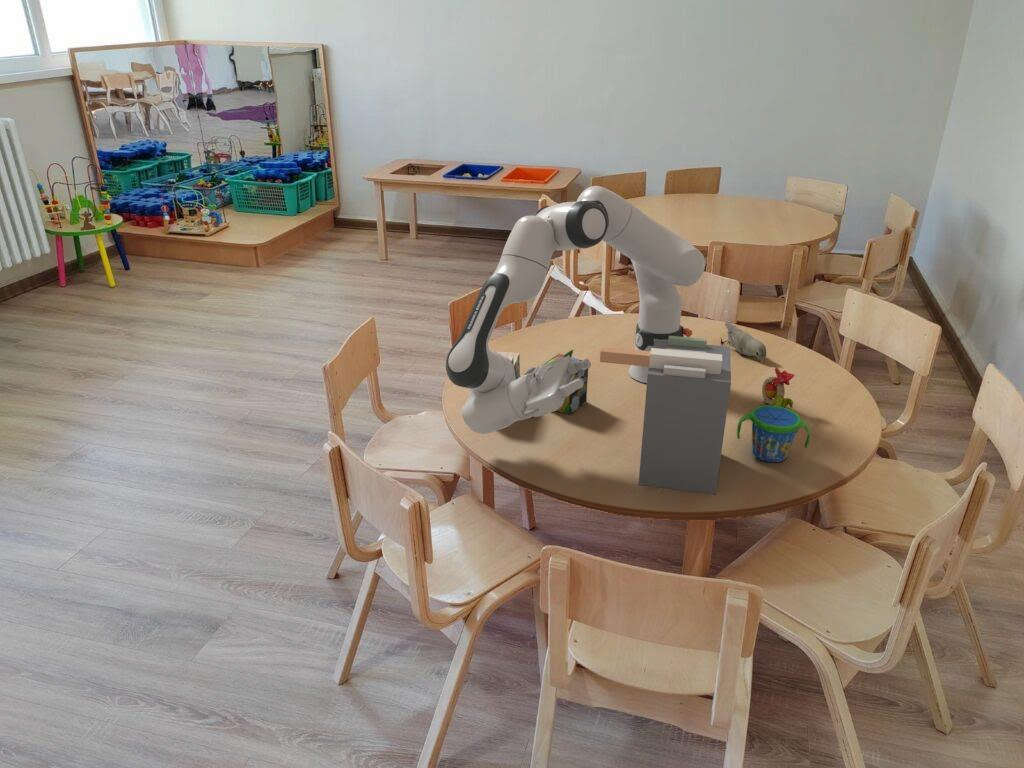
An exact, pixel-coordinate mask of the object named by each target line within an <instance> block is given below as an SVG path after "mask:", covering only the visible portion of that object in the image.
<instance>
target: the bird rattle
mask: <svg viewBox="0 0 1024 768" xmlns="http://www.w3.org/2000/svg"><path fill="white" fill-rule="evenodd" d="M774 371H775V374H776V376H769V377H767V378H766V379H765V380H764V382H763V384H762V388H761V392H762V393H761V394H762V396H763V403H764V404H768V405H773V406H780V407H785V408H787V406H789V409H793V408H794V405H793V404H794V400H792V399H791V398H789V397H785V385H786V386H790V380H792V379H793V378H795V374H793V373H790V372H788V371H787V370H782V371H780V369H779V368H778V367H777V366H776V367H775V368H774Z"/></svg>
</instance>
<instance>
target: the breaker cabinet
mask: <svg viewBox="0 0 1024 768" xmlns="http://www.w3.org/2000/svg"><path fill="white" fill-rule="evenodd" d="M707 342H708V339H707V338H700V337H699V338H698V337H691V336H690V337H687V336H684V337H678V336H669V340H668V341H661V340H655V341H654V346H653V348H658V349H669V350H680V351H690V352H701V353H712V354H722V367H721V374H720V375H719V374H708V373H705V372H706V369H703V368H693V367H682V366H672V365H664V369H657V368H649V370H648V377H647V383H646V388H645V390H646V391H645V401H644V402H645V403H644V411H643V413H644V414H643V427H642V439H641V450H640V460H639V461H640V462H639V473H638V485H641V486H646V487H647V486H648V487H655V488H663V489H670V490H678V491H687V492H691V493H692V492H694V493H702V494H709V495H715V496H716V494H717V487H718V480H719V474H720V473H719V471H720V465H721V464H720V463H721V458H722V451H723V450H722V449H723V443H724V437H725V430H726V429H725V428H726V422H727V414H728V407H729V399H730V394H731V393H730V392H731V386H732V373H731V372H732V370H731V369H732V368H731V367H732V365H731V347H730V346H726V345H723V346H722V345H714V344H708V343H707Z"/></svg>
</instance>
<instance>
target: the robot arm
mask: <svg viewBox="0 0 1024 768" xmlns="http://www.w3.org/2000/svg"><path fill="white" fill-rule="evenodd" d="M576 199H577V200H576V201H566V202H565V201H564V202H561V203H557V204H552V205H546V206H543V207H541V208H539V209H537V210H536V211H535V212H534V213H533V214H532V215H525V216H522V217H520V218H519V219H518V220H517V221H516V222H515V224H514V225H513V227H512V229H511V231H510V233H509V235H508V238H507V240H506V242H505V245H504V247H503V250H502V253H501V256H500V259H499V262H498V265H497V267H496V268H495V270H494V271H493V273H492V275H490V276H489V277H488V278H487V279H486V280H485V281H484V283H483V285H482V286H481V289H480V290H479V293H478V294H477V297H476V299H475V300H474V304H473V305H472V308H471V310H470V313H469V315H468V317H467V320H466V321H465V324H464V327H463V329H462V331H461V333H460V334H459V336H458V338H457V339H456V341H455V342H454V343H453V345H452V346H451V348H450V349H449V352H448V353H447V356H446V359H445V370H446V375H447V377H448V379H449V380H450V381H451V382H452V383H453V384H454V385H456V386H457V387H460V388H461V387H462V388H465V389H469V392H468V395H467V399H466V402H465V403H464V405H463V406H462V407H461V415H462V418H463V421H464V423H465V424H466V425H467V426H468V428H469V429H470V430H471V431H473V432H475V433H477V434H480V435H486V434H490V433H494V432H498V431H500V430H502V429H505V428H507V427H511V426H512V425H513V424H514V423H516V422H518V421H525V420H528V419H530V418H532V417H534V418H538V417H542V416H544V415H548V414H550V413H553V412H555V411H556V410H558V409H559V408H561V407H562V405H563V403H564V400H565V398H566V397H567V396H569V395H570V394H572V393H573V392H574V391H576V390H577V389H580V388H582V387H583V385H584V381H583V380H582V378H581V377H579V378H577V379H574V380H573V378H574V375H575V373H577V372H578V371H580V370H583V371H584V370H586V369H588V370H589V369H590V368H591V367H592V366H591V365H592V363H591V361H590V359H588V358H585V359H581V360H582V361H575V362H574V361H573V360H572V358H571V357H572V356H571V357H563V358H560V359H557V360H554V361H552V362H549V363H547V364H545V363H544V364H545V365H543V364H542V365H543V366H542V365H541V366H538V365H534V366H533V367H531V368H530V369H528V370H526V372H525V373H524V374H523V375H522V376H521V375H520V377H519V378H518V379H516V373H515V368H514V365H513V363H512V362H511V361H510V360H509V359H508V358H507V357H505V356H503V355H501V354H499V353H497V352H498V351H495V350H492V349H490V348H489V342H490V339H491V337H492V334H493V332H494V329H495V327H496V325H497V323H498V320H499V318H500V316H501V313H502V312H503V310H505V308H506V307H508V306H510V305H511V304H518V303H524V302H525V303H526V302H527V301H530V300H532V299H534V298H535V297H537V296H538V294H539V293H540V291H541V289H542V287H543V286H544V284H545V280H546V278H547V274H548V270H549V267H550V263H551V259H552V256H553V254H555V251H561V252H562V251H563V252H564V251H566V252H567V251H573V250H579V249H589V248H592V247H594V246H596V245H598V244H600V242H602V241H603V242H604V243H606V244H607V245H609V246H610V247H611V248H613V249H614V250H616V251H618V252H619V253H620V254H622V255H623V256H625V257H627V258H629V259H630V262H631V264H632V265H633V268H634V272H635V277H636V282H637V288H638V294H639V298H638V299H639V308H638V322H637V324H636V326H635V341H634V342H635V348H634V350H642V351H651V348H653V346H654V341H655V340H661V341H668V340H669V336H678V337H690V338H691V337H692V335H693V330H691V329H690V328H688V327H685V328H684V326H683V325H681V318H682V317H681V316H682V308H683V300H682V295H681V294H680V292H679V290H678V288H677V286H680V287H681V286H682V287H689V286H692V285H694V284H696V283H697V282H698V281H699V280H700V279H701V277H702V276H703V275H704V272H705V268H706V260H705V257H704V254H703V253H702V252H701V251H700V250H699V249H697V247H695V245H693V244H691V243H690V242H688V241H687V240H685V239H684V238H683V237H681V236H680V235H678V234H676V233H675V232H674V231H672V230H670V229H668V228H667V227H666V226H664V225H662V224H661V223H660V222H658V221H657V220H654V219H653V218H651V217H650V216H648V215H647V214H645V213H644V212H643V211H641V209H639V208H638V207H636V206H635V205H633V204H632V203H630V201H628V200H627V199H625V198H624V197H622V196H621V195H619V194H617V193H616V192H614V191H612V190H610V189H607V188H605V187H603V186H600V185H592V186H588V187H587V188H585V189H583V191H582V192H581V193H580V195H578V197H577V198H576ZM629 366H630V367H629V369H628V375H629V376H630V377H631V378H632V379H634V380H636V381H638V382H641V383H644V384H647V377H648V370H649V367H645V366H635V365H629ZM572 380H573V381H572Z"/></svg>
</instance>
